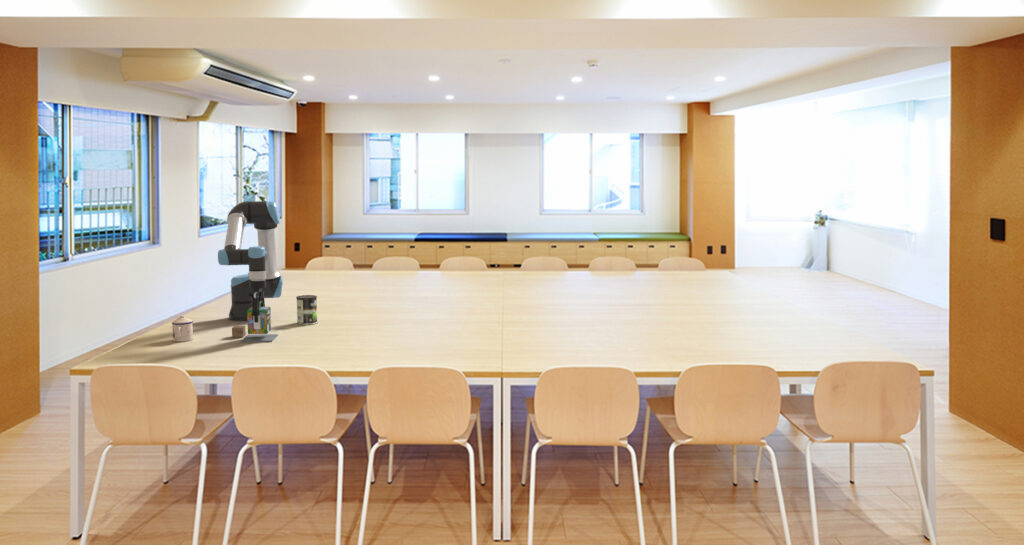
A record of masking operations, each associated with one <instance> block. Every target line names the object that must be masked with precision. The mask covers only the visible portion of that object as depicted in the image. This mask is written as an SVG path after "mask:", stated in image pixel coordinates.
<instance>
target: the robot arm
mask: <svg viewBox="0 0 1024 545" xmlns="http://www.w3.org/2000/svg"><path fill="white" fill-rule="evenodd" d="M226 222H227V231H226V236H225V241H224V246H223V247H224V248H223V249H219V250H218V251H217V261H218V262H217V263H218V264H219V265H220V266H248V272H247V274H241V275H236V276H232V278H231V280H230V291H231V295H230V296H231V306H230V310H229V313H228V320H230V321H247V310H248V309H249V308H251V307H252V314H251V315H252V316H253V319H254V329H260V315H259V308H260V302H261V301H262V303H261V307H266V302H265V299H275V298H276V299H277V298H280V297H281V296H282V292H283V282H284V277H283V276H282V275H281V273H280V272H279V271H278V270H277V267H278V266H277V252H276V232H275V230H276V228H278V225H279V224H280V223H281V217H280V210H279V207H278V203H277V202H275V201H268V200H266V201H265V200H263V201H260V200H258V201H255V200H254V201H249V200H248V201H242V202H239V203H238V204H236V205H235V206H234V207H233V208H231V210H230V211H229V212H228V214H227V217H226ZM247 225H253V227H254V229H255V230H256V233H257V245H258V246H256V245H255V246H249V247H248V248H246V249H245V248H242V242H243V237H244V230H245V227H246V226H247Z"/></svg>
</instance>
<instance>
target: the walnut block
mask: <svg viewBox="0 0 1024 545" xmlns="http://www.w3.org/2000/svg"><path fill="white" fill-rule="evenodd" d="M246 332H247V331H246V325H234V326H232V327H231V338H232V337H243V338H245V337H246V336H247V335H246ZM245 335H246V336H245ZM244 336H245V337H244Z"/></svg>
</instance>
